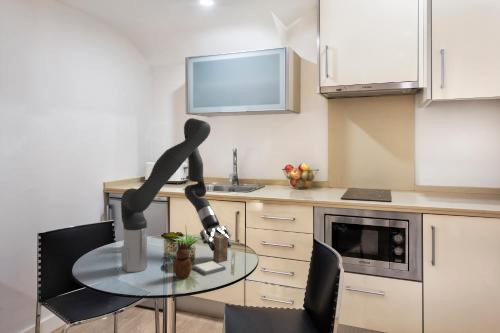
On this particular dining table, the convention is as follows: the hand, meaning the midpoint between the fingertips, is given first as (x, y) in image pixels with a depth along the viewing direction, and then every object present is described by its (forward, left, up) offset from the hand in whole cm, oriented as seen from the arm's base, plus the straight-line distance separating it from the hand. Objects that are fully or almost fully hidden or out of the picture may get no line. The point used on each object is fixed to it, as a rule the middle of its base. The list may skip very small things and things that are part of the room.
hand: (222, 248), depth 155 cm
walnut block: (0, +1, -6) cm, 6 cm away
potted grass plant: (-23, -6, -6) cm, 24 cm away
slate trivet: (-10, -5, -6) cm, 12 cm away
